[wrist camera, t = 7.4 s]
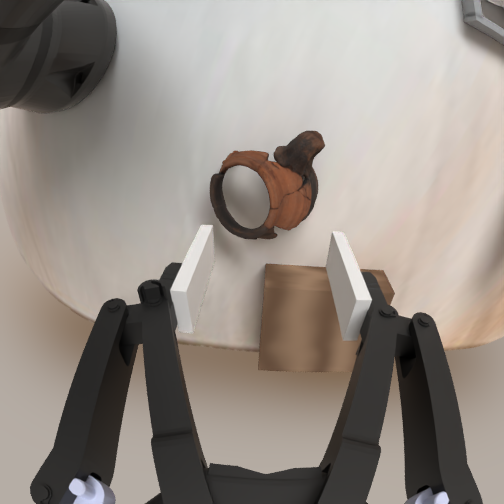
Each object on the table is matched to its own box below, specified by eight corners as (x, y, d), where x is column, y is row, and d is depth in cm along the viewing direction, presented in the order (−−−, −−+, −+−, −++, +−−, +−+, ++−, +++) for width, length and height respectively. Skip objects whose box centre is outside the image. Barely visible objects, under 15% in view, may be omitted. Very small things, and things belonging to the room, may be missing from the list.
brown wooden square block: (259, 343, 42) (258, 369, 38) (266, 261, 34) (264, 287, 30) (353, 346, 41) (359, 371, 37) (382, 268, 34) (394, 293, 29)
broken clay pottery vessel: (294, 238, 32) (254, 269, 26) (237, 182, 33) (187, 199, 27) (362, 157, 24) (337, 167, 18) (289, 99, 26) (242, 92, 20)
